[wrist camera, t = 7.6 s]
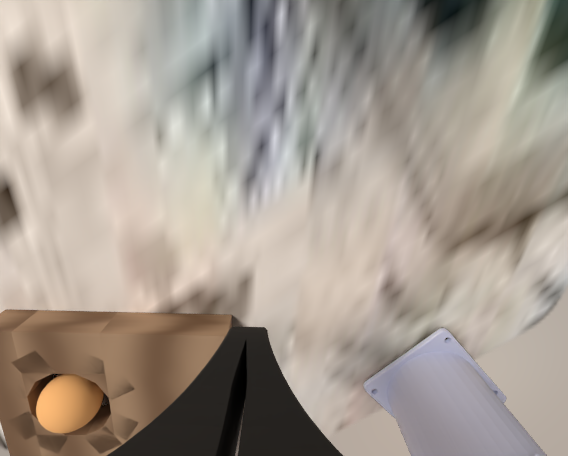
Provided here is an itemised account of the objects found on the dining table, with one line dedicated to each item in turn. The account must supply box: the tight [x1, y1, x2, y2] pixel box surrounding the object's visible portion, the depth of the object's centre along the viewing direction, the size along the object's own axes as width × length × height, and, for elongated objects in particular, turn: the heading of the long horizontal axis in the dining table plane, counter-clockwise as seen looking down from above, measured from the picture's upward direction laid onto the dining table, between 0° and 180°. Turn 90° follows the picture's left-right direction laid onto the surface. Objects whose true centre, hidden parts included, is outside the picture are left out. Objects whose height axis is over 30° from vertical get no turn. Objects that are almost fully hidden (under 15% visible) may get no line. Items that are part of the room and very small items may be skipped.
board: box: [0, 310, 232, 456], centre depth 24 cm, size 16×12×2 cm
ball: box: [36, 374, 103, 433], centre depth 23 cm, size 4×4×4 cm
